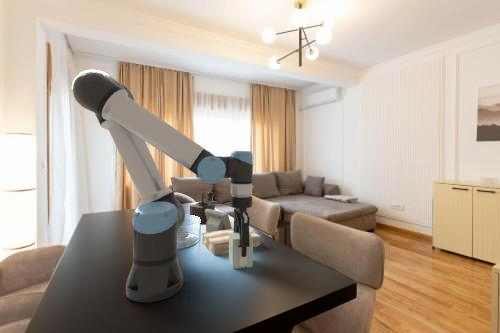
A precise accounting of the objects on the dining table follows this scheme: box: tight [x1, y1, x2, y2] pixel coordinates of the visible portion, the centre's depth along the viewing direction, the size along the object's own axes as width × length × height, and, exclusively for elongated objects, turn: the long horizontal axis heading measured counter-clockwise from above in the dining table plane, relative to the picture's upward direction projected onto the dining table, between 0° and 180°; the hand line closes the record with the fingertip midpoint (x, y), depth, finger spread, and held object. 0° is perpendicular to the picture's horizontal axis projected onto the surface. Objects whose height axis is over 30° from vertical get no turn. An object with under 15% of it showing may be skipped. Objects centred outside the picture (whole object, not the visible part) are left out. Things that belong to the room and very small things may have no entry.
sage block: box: [228, 232, 254, 270], centre depth 87 cm, size 7×7×10 cm
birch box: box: [201, 228, 261, 257], centre depth 105 cm, size 14×20×5 cm
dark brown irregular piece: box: [189, 191, 216, 225], centre depth 140 cm, size 16×11×18 cm
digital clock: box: [205, 209, 233, 233], centre depth 123 cm, size 16×9×11 cm, turn 38°
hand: (240, 260), depth 88 cm, fingers closed on sage block, 7 cm apart
